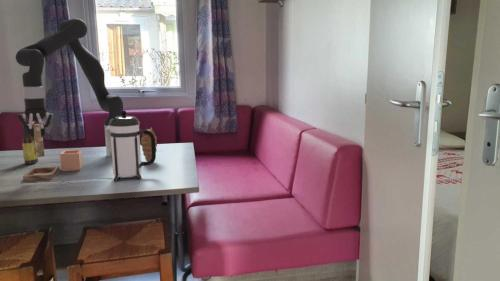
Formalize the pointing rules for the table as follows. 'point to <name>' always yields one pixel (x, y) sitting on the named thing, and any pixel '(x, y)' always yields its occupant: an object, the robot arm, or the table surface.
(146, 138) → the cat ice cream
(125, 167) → the coffee press
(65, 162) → the pink open box
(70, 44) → the robot arm
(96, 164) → the table surface
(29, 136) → the sauce bottle
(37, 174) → the tray
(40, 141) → the dowel
